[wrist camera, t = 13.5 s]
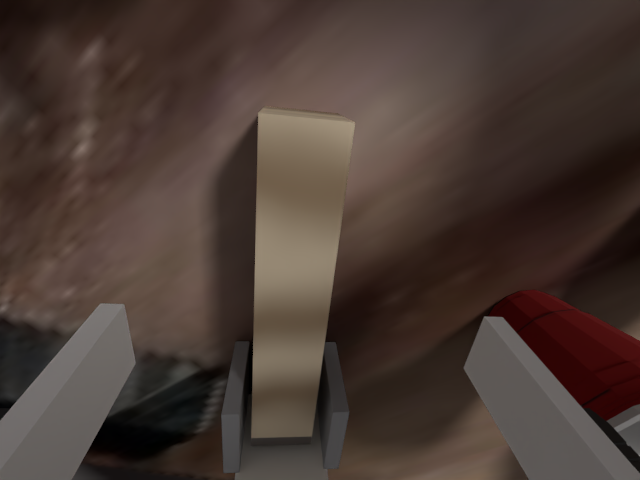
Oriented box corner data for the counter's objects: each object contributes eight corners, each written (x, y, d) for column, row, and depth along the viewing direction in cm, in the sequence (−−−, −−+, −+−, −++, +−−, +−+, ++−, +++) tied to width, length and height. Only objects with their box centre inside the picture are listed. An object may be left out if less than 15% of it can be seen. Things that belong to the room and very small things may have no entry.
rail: (265, 106, 18) (258, 113, 13) (337, 113, 18) (355, 122, 14) (256, 384, 26) (251, 445, 22) (306, 384, 27) (310, 444, 22)
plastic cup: (476, 252, 23) (646, 401, 12) (609, 264, 25) (863, 405, 14) (433, 367, 27) (529, 551, 17) (547, 371, 29) (703, 541, 18)
